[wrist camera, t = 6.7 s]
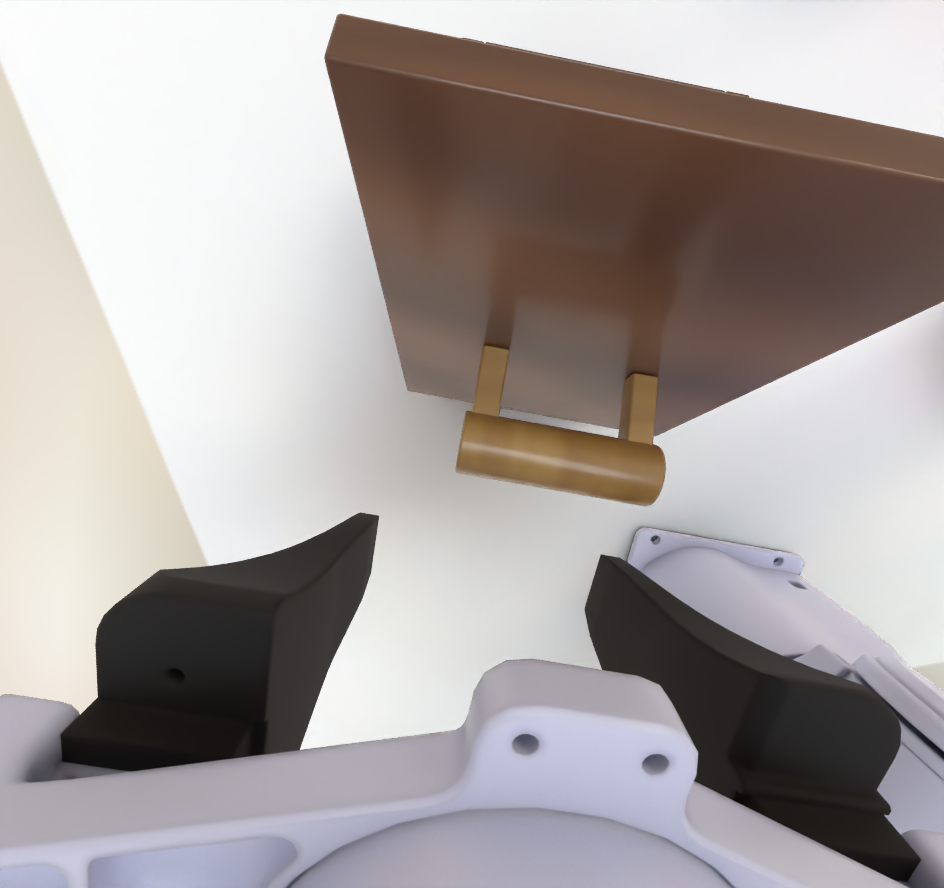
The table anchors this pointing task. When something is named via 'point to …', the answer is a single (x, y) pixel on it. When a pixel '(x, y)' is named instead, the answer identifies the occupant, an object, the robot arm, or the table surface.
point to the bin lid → (616, 243)
